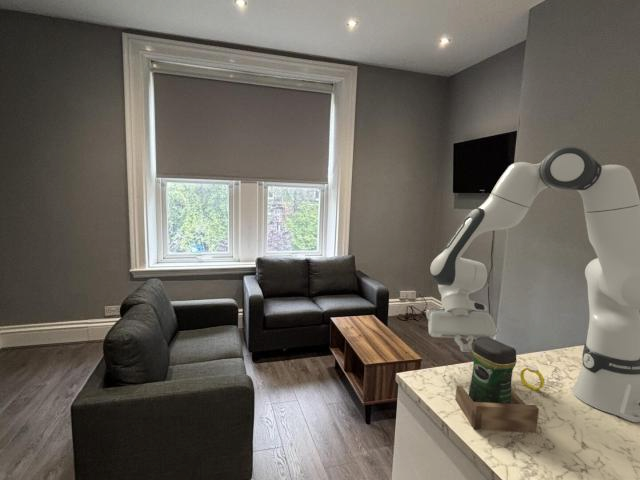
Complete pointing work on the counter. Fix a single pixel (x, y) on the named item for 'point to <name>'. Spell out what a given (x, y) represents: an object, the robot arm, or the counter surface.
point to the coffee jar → (492, 371)
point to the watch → (535, 370)
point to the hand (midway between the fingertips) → (466, 351)
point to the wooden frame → (498, 413)
